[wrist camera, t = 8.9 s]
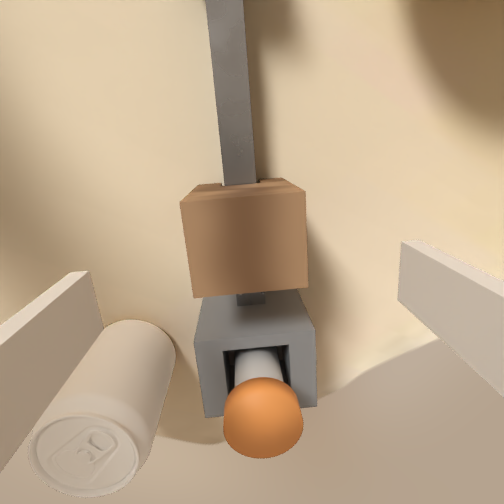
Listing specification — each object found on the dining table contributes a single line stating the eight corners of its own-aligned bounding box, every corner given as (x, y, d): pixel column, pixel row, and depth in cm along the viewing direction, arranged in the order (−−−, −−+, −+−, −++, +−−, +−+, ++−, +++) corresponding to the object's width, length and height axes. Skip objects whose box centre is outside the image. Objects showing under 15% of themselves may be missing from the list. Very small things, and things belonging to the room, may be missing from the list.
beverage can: (79, 354, 33) (-6, 464, 21) (128, 300, 31) (67, 387, 20) (143, 397, 35) (98, 519, 23) (193, 348, 33) (171, 453, 22)
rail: (224, 293, 31) (221, 325, 26) (180, -85, 23) (162, -165, 17) (275, 288, 31) (284, 319, 26) (251, -89, 23) (257, -170, 17)
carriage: (207, 251, 30) (193, 298, 20) (198, 184, 28) (179, 202, 18) (285, 244, 30) (308, 287, 20) (281, 177, 28) (305, 191, 18)
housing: (212, 356, 33) (205, 417, 26) (203, 295, 31) (193, 342, 24) (302, 348, 34) (322, 405, 26) (299, 286, 32) (320, 329, 24)
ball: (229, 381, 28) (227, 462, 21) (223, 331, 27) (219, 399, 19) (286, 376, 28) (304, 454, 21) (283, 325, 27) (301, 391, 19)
